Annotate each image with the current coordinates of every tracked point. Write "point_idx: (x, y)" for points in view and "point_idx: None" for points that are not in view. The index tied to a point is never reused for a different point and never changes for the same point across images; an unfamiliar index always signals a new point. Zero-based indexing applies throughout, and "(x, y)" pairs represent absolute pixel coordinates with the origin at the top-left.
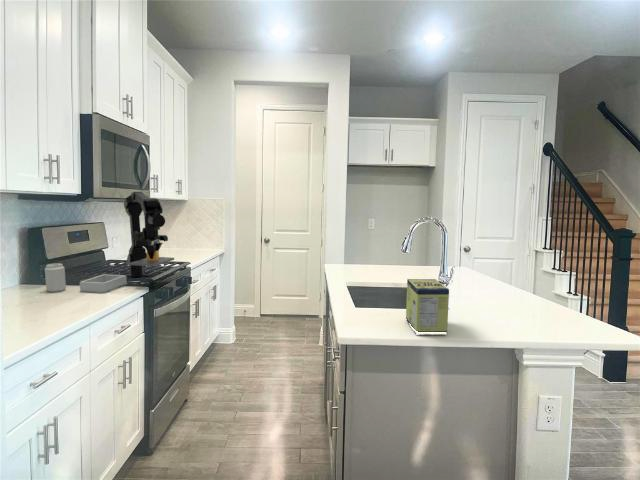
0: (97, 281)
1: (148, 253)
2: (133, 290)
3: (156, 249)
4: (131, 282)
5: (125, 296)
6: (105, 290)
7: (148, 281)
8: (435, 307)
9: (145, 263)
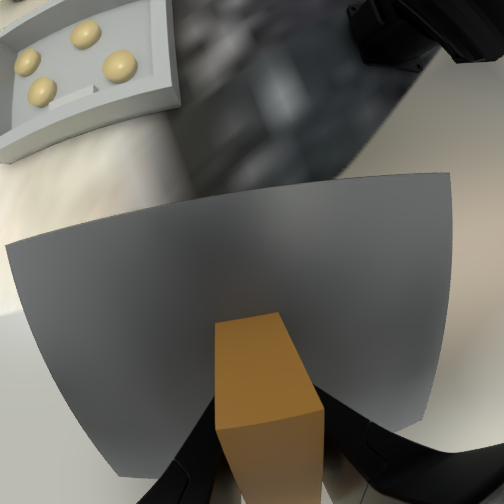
0: (97, 2)
1: (184, 449)
2: None
3: (338, 501)
4: (246, 89)
5: (17, 299)
6: (7, 161)
7: (308, 173)
8: None
9: (76, 412)
